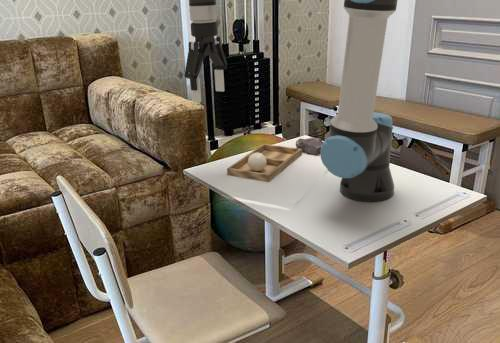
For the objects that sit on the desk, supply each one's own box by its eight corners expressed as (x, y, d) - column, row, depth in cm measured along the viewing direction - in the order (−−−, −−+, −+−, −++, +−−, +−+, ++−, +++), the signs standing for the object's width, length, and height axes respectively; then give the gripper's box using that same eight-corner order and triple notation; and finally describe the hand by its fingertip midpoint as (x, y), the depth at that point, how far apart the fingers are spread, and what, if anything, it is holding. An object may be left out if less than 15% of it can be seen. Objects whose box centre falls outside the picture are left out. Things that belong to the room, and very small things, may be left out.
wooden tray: (301, 157, 171) (301, 149, 170) (269, 184, 150) (269, 175, 149) (263, 151, 178) (263, 143, 176) (227, 177, 156) (227, 168, 155)
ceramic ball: (270, 168, 159) (269, 151, 157) (261, 175, 154) (261, 157, 152) (253, 166, 162) (252, 148, 160) (244, 172, 157) (244, 154, 155)
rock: (305, 144, 184) (305, 132, 182) (330, 151, 177) (331, 139, 175) (291, 150, 179) (291, 138, 177) (316, 157, 171) (316, 144, 170)
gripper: (214, 17, 151) (218, 86, 159) (166, 25, 130) (174, 104, 138) (236, 17, 148) (239, 87, 156) (191, 26, 127) (197, 106, 135)
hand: (208, 96), depth 147 cm, fingers open, 13 cm apart
